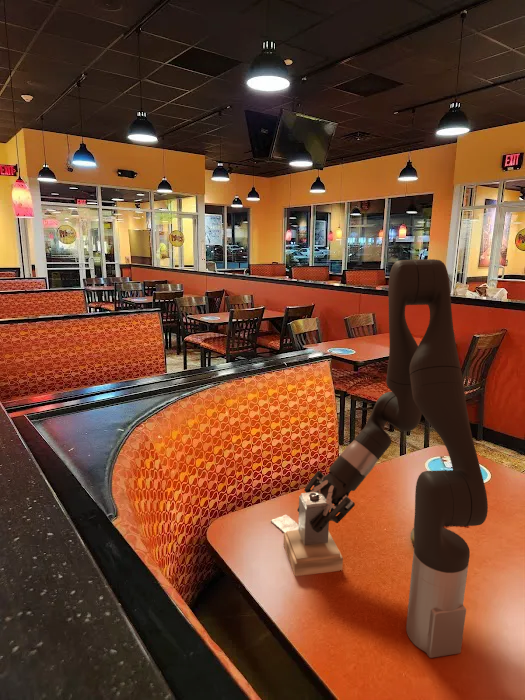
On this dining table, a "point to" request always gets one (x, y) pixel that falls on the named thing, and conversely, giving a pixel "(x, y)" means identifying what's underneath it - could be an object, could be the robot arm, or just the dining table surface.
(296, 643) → the dining table surface
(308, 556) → the stand
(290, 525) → the cover plate
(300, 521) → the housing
